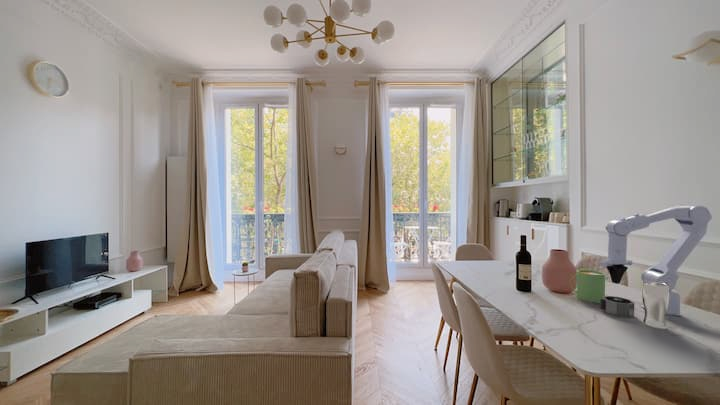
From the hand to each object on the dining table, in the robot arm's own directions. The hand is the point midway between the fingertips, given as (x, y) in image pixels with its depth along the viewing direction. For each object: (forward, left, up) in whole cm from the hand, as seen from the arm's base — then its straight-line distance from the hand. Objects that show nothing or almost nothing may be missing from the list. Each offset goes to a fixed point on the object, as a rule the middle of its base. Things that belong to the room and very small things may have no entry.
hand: (615, 283), depth 125 cm
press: (+1, +6, -10) cm, 12 cm away
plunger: (+1, +6, -10) cm, 11 cm away
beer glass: (-6, +16, -11) cm, 20 cm away
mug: (+6, -11, -11) cm, 17 cm away
